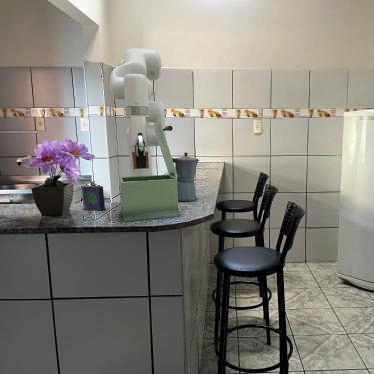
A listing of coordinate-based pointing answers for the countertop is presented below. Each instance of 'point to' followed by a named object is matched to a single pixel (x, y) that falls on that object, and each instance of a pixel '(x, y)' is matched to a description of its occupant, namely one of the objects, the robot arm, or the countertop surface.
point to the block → (135, 160)
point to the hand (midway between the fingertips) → (140, 166)
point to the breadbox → (148, 197)
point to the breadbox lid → (165, 148)
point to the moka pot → (185, 177)
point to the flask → (93, 197)
